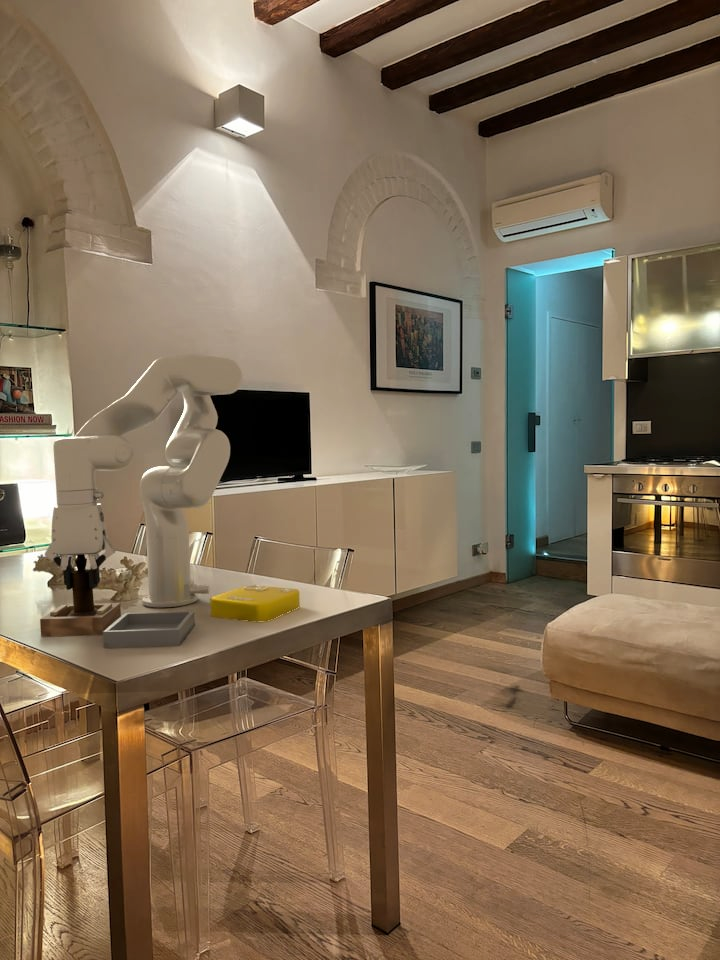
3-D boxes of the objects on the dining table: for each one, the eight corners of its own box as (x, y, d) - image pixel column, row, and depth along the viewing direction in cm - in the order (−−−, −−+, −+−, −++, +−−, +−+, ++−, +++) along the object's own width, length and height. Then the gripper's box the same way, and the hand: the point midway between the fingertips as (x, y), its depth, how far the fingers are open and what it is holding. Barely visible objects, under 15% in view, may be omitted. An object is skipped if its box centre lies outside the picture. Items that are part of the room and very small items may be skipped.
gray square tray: (195, 625, 149) (194, 610, 149) (180, 645, 135) (179, 629, 135) (125, 627, 148) (125, 613, 148) (103, 647, 134) (102, 631, 134)
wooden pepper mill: (72, 620, 153) (68, 535, 151) (104, 619, 153) (100, 534, 152) (63, 629, 146) (58, 540, 144) (97, 628, 147) (92, 539, 145)
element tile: (206, 618, 156) (205, 596, 156) (248, 602, 170) (247, 582, 169) (264, 625, 149) (264, 602, 149) (303, 608, 163) (302, 587, 162)
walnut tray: (121, 619, 155) (120, 600, 155) (102, 634, 143) (101, 614, 143) (64, 620, 155) (63, 601, 155) (40, 636, 143) (39, 616, 143)
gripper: (124, 495, 151) (129, 582, 153) (42, 498, 151) (48, 585, 152) (112, 499, 144) (118, 590, 145) (27, 501, 144) (33, 593, 145)
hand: (82, 586), depth 149 cm, fingers closed on wooden pepper mill, 4 cm apart
